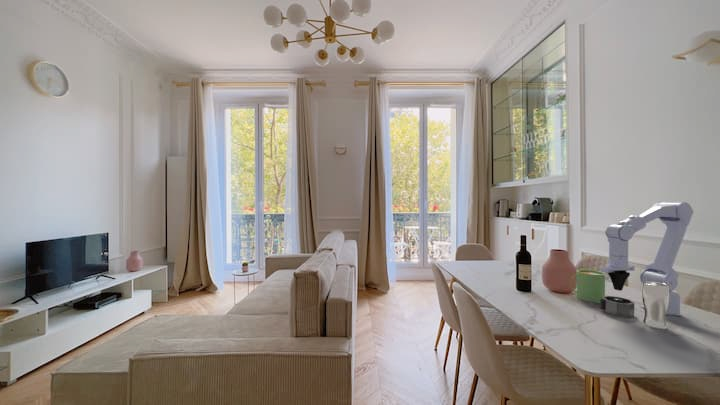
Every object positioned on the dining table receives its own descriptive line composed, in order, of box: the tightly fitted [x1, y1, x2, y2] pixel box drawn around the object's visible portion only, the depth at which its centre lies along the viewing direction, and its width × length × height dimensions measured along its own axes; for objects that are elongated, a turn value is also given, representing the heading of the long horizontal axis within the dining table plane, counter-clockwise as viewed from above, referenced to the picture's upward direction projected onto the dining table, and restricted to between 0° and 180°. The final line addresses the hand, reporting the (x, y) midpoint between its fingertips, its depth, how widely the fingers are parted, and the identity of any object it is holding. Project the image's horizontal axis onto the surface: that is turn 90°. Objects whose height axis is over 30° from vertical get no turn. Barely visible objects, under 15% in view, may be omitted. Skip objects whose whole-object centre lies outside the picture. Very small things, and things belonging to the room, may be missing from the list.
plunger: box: [613, 298, 623, 303], centre depth 120 cm, size 7×7×5 cm
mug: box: [569, 268, 606, 304], centre depth 138 cm, size 13×10×12 cm
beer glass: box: [641, 281, 669, 330], centre depth 108 cm, size 7×7×15 cm
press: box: [599, 295, 635, 319], centre depth 120 cm, size 10×9×5 cm
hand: (618, 289), depth 120 cm, fingers closed
